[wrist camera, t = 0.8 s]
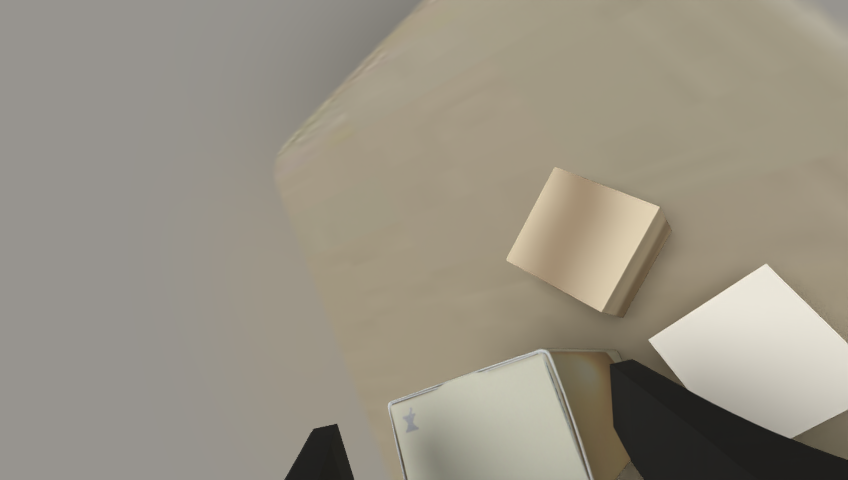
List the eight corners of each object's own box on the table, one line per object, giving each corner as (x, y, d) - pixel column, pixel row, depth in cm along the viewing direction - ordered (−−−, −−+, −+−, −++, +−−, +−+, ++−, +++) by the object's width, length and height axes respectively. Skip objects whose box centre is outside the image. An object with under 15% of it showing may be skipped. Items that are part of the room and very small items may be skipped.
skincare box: (537, 463, 25) (408, 544, 15) (510, 381, 26) (376, 403, 16) (661, 434, 22) (605, 509, 12) (622, 344, 24) (544, 345, 14)
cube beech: (671, 230, 24) (659, 207, 19) (623, 317, 24) (601, 312, 20) (581, 194, 26) (554, 166, 22) (539, 272, 27) (505, 259, 23)
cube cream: (856, 378, 19) (891, 386, 15) (741, 438, 21) (745, 462, 16) (758, 279, 21) (766, 263, 17) (662, 340, 23) (648, 340, 19)
